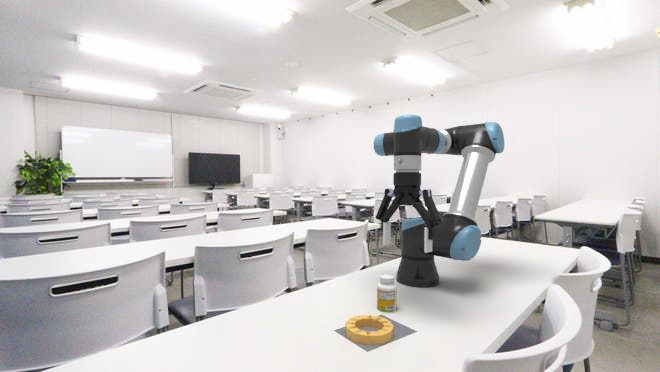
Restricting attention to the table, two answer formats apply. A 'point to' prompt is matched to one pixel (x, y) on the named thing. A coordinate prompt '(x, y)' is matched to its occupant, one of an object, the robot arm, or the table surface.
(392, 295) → the supplement bottle
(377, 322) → the golden tan faceted ring
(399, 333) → the slate mat
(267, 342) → the table surface
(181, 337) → the table surface
